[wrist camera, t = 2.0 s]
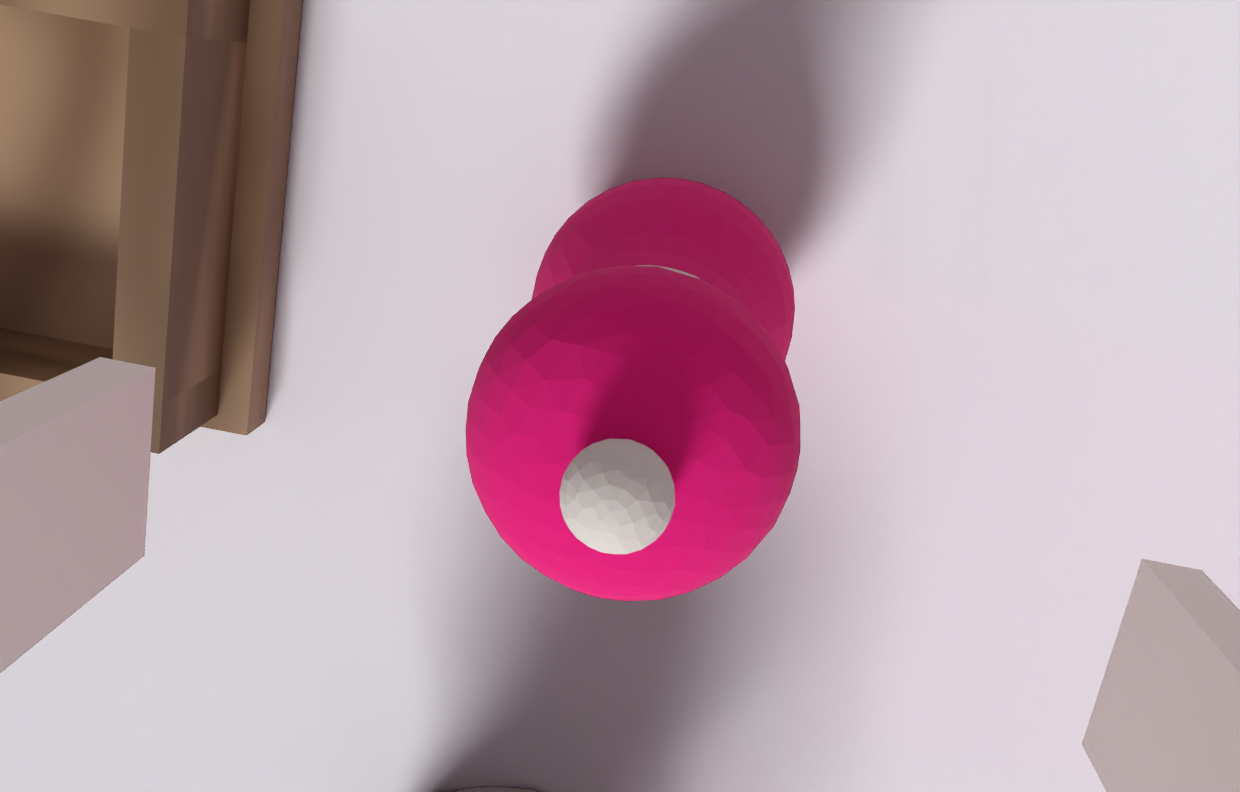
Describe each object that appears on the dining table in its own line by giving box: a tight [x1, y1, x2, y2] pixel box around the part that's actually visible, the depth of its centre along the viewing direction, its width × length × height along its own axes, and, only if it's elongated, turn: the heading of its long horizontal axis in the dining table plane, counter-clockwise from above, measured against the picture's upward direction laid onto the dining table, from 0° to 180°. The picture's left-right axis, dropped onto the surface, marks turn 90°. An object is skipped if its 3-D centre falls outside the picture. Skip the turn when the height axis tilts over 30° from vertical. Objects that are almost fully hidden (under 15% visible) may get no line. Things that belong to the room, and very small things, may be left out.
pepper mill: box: [466, 178, 800, 601], centre depth 26 cm, size 7×7×20 cm
